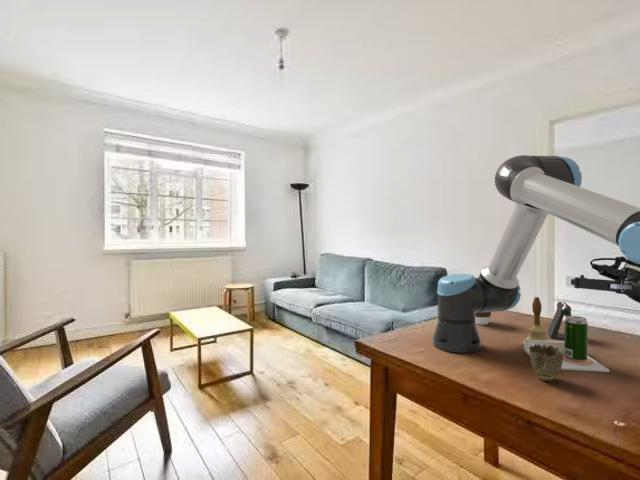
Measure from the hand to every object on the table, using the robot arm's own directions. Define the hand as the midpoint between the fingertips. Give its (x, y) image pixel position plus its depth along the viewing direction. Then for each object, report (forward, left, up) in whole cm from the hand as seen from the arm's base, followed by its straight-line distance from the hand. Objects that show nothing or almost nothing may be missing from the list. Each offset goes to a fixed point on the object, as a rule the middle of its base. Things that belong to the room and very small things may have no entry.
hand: (593, 282), depth 92 cm
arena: (-4, +8, -24) cm, 26 cm away
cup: (-14, -6, -24) cm, 29 cm away
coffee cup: (-18, +46, -25) cm, 55 cm away
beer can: (-1, +7, -24) cm, 25 cm away
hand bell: (-6, +21, -25) cm, 33 cm away
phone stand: (+6, +31, -25) cm, 40 cm away
